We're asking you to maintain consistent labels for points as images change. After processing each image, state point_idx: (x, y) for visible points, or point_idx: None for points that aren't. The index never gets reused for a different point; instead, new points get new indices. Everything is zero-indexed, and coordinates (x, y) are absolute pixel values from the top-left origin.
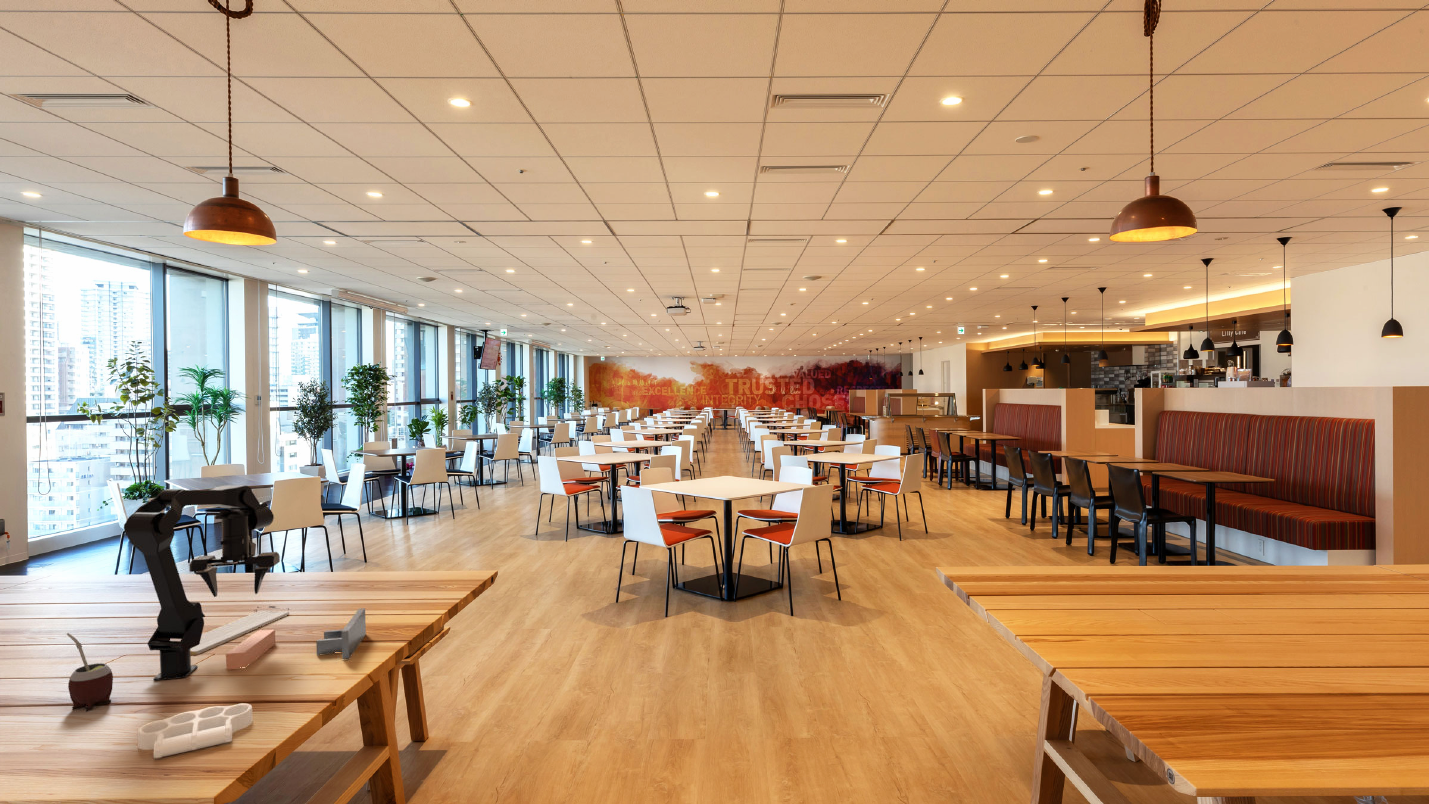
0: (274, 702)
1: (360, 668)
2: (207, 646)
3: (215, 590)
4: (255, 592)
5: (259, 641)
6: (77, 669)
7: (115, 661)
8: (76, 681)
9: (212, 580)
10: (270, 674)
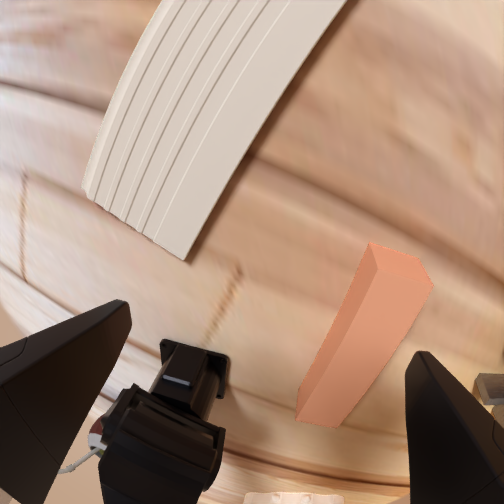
0: (370, 483)
1: None
2: (201, 223)
3: (108, 360)
4: (409, 385)
5: (376, 376)
6: (91, 448)
7: (30, 216)
8: None
9: (59, 435)
10: (380, 432)
